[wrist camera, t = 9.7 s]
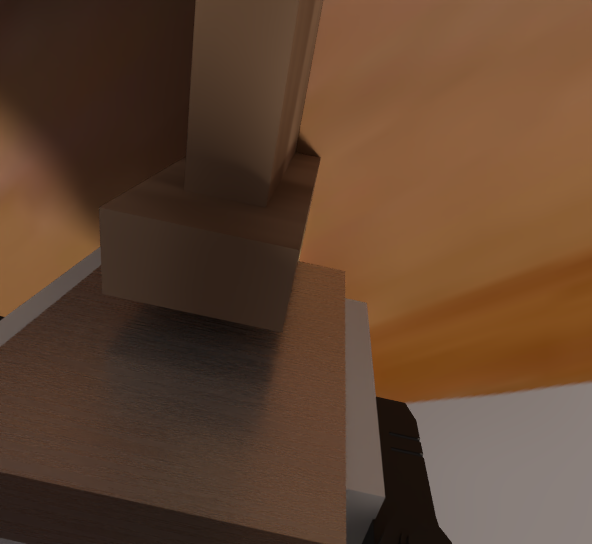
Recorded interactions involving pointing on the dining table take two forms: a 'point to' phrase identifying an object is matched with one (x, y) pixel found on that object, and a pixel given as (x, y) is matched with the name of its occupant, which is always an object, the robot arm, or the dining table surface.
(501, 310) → the dining table surface
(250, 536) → the bracket plate
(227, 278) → the brown long notched block
